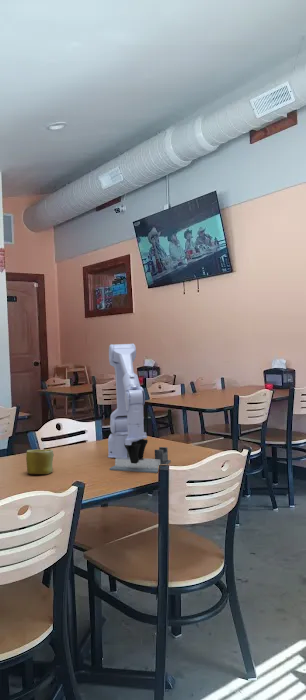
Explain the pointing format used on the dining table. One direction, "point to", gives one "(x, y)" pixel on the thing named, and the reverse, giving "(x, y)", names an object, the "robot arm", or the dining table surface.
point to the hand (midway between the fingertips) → (136, 461)
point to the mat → (134, 469)
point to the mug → (39, 461)
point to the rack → (160, 455)
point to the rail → (141, 464)
